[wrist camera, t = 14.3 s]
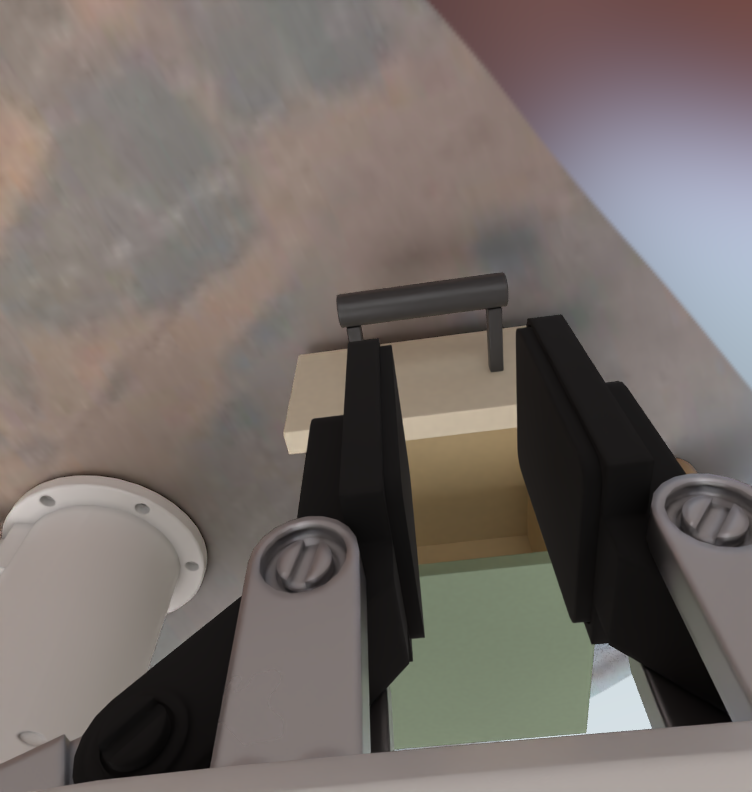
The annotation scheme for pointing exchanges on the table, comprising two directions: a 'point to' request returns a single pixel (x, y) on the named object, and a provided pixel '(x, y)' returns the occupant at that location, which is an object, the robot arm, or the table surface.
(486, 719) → the cabinet
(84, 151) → the table surface
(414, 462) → the drawer
